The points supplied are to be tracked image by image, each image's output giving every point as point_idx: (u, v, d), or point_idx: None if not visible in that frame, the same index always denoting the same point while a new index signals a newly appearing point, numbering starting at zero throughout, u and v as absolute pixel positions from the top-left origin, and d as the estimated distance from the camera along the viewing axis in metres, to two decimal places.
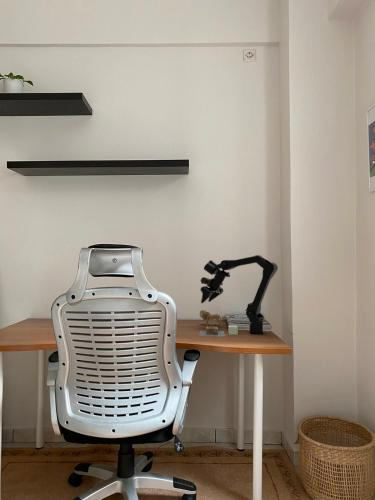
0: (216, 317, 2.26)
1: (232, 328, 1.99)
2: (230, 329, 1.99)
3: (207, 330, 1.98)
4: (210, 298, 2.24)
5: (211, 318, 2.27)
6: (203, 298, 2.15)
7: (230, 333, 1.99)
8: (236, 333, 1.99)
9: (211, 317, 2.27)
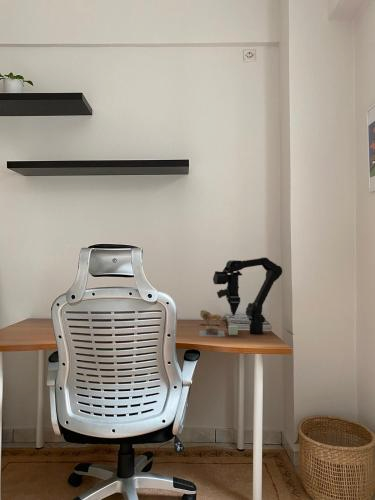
0: (217, 317, 2.26)
1: (232, 328, 1.99)
2: (230, 329, 1.99)
3: (207, 330, 1.98)
4: None
5: (212, 318, 2.27)
6: (233, 309, 1.95)
7: (230, 333, 1.99)
8: (236, 333, 1.99)
9: (212, 317, 2.27)
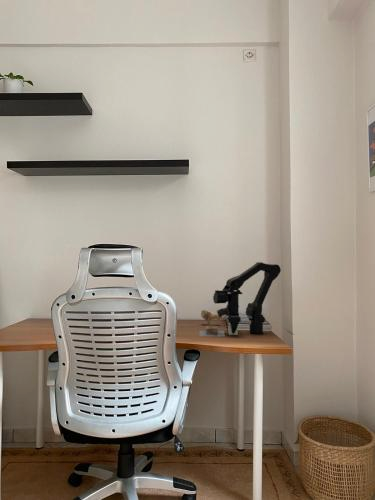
0: (217, 317, 2.26)
1: None
2: (230, 329, 1.99)
3: (207, 330, 1.98)
4: None
5: (212, 318, 2.27)
6: (233, 327, 1.97)
7: (230, 333, 1.99)
8: (236, 333, 1.99)
9: (212, 317, 2.27)
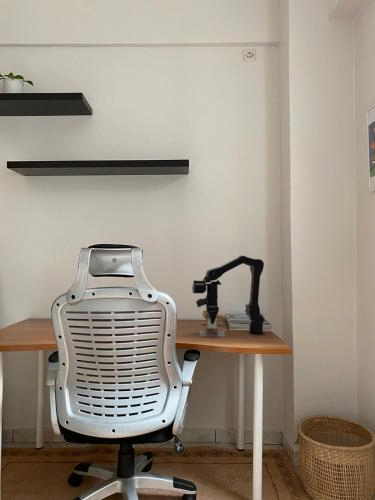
0: (219, 317, 2.26)
1: None
2: (209, 322, 1.99)
3: (207, 330, 1.98)
4: None
5: None
6: (212, 318, 1.97)
7: (209, 326, 1.99)
8: (215, 326, 1.99)
9: None
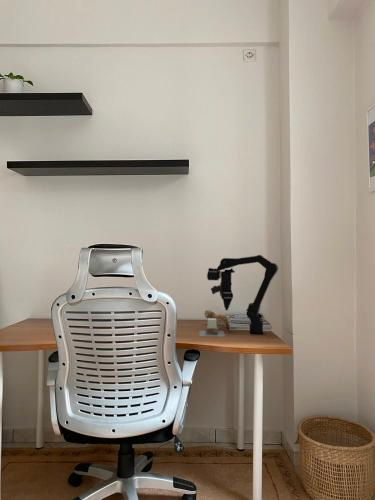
0: (221, 317, 2.26)
1: (211, 321, 1.99)
2: (209, 322, 1.99)
3: (207, 330, 1.98)
4: (225, 304, 2.16)
5: (216, 318, 2.27)
6: (226, 304, 2.05)
7: (209, 326, 1.99)
8: (215, 326, 1.99)
9: (216, 317, 2.27)
